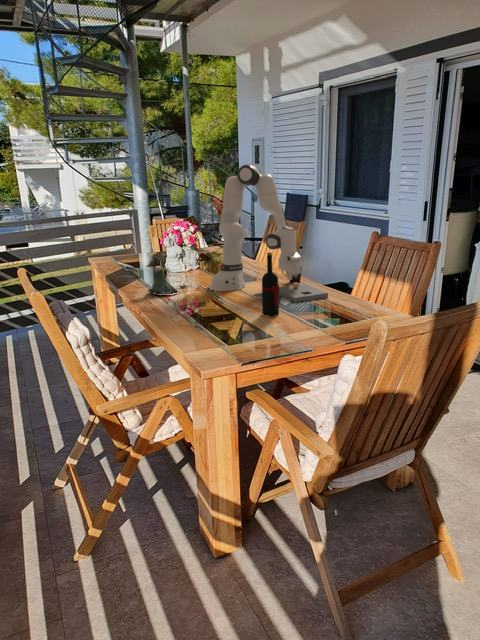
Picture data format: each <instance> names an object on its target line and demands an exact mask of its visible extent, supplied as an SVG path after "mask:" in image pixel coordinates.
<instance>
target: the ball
mask: <svg viewBox="0 0 480 640" xmlns="http://www.w3.org/2000/svg"><path fill="white" fill-rule="evenodd" d="M299 284H300V283H297V282H294V283H292V285H293V288H298V287H299Z"/></svg>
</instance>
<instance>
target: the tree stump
mask: <svg viewBox="0 0 480 640" xmlns="http://www.w3.org/2000/svg"><path fill="white" fill-rule="evenodd" d="M152 272H153V275H152V276H153V285H152V287H151V288H150V289H147V292H148V293H150V294H152V293H156V294H173V293H177V292H178V291H177V290H176V289H175V287H174V286H173V285H172V284H171V282H169V281H168V280H167V278H166V274H165V273H164V272H165V271H164V267H163V266H161V267H159V266H158V267H156V268H154V269H153V270H152Z"/></svg>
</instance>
